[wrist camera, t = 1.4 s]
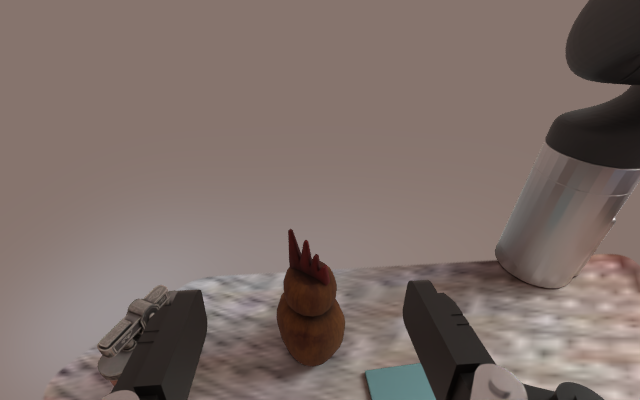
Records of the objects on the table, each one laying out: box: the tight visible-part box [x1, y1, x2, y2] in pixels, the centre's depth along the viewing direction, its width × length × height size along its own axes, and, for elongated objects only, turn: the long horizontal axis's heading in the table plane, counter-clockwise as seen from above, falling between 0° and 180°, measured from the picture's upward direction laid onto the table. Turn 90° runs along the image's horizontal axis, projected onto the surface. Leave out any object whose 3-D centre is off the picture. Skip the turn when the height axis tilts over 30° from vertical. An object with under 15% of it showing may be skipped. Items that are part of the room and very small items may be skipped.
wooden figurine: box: [277, 229, 345, 366], centre depth 28 cm, size 7×6×15 cm
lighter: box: [97, 285, 178, 386], centre depth 27 cm, size 8×3×10 cm, turn 161°
